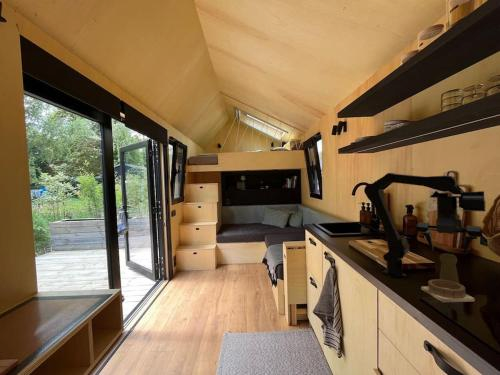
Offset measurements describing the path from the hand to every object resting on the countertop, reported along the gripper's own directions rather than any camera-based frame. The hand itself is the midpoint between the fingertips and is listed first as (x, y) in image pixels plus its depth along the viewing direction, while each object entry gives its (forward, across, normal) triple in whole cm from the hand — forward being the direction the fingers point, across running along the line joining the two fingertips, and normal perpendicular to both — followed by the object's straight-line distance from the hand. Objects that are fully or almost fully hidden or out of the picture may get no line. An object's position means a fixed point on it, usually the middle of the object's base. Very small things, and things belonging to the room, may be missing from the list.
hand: (447, 252), depth 91 cm
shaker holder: (+12, 0, -10) cm, 16 cm away
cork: (+12, 0, +2) cm, 13 cm away
